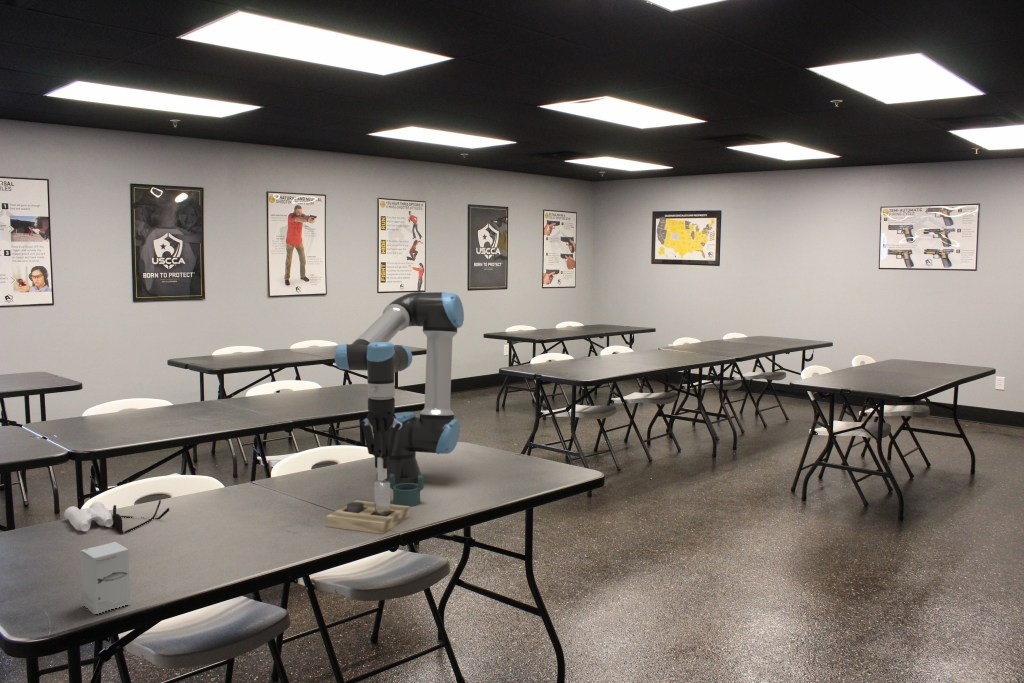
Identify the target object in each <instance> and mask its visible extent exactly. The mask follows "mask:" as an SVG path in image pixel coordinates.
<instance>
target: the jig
mask: <svg viewBox="0 0 1024 683" xmlns="http://www.w3.org/2000/svg"><path fill="white" fill-rule="evenodd" d="M410 517H411V507H410V506H402V505H394V504H393V503H390V515H389V516H387V517H384V516H376V515H375V501H366V500H357V499H355V500H353V501H352V502H349V503H346V505H344V506H342V507H341V508H339V509H337V510H335V511H333V512H331V513H329V514H328V515H326V527H328V528H334V529H335V528H336V529H344V530H350V531H357V532H365V533H366V532H367V533H373V534H379V535H380V534H381V535H384V534H385V533H387V532H388V531H390V530H391V529H393V528H395V527H396V526H397V525H399V524H400V523H402V522H404V521H405V520H407V519H408V518H410Z"/></svg>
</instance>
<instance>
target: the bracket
mask: <svg viewBox="0 0 1024 683" xmlns="http://www.w3.org/2000/svg"><path fill="white" fill-rule="evenodd" d="M424 480H425V475H422V474H421V475H418V483H415V484H414V483H402V484H397V485H395V474H390V475H389V481H390V490H393V491H392V494H393V495H392V496H393V497H392V498H393V500H392V502H393V503H392V504H394V505H402V506H410V508H411V507H414V506H415V507H416V506H418V505H419V504H420V503H421V491H422V490H424V488H425V482H424Z"/></svg>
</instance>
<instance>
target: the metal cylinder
mask: <svg viewBox="0 0 1024 683" xmlns="http://www.w3.org/2000/svg"><path fill="white" fill-rule="evenodd" d="M373 483H374V502H375V515H376V516H384V517H387V516H389V515H390V504H391V488H390V481H388V480H383V481H380V480H378V481H377V480H376V481H374V482H373Z"/></svg>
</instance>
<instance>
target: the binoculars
mask: <svg viewBox="0 0 1024 683" xmlns="http://www.w3.org/2000/svg"><path fill="white" fill-rule="evenodd" d="M63 516H64V518H65V519H66V520H67V519H69V520H68V521H69V523H70V524H71V526H73V528H74V529H75V530H76V531H79V532H87V531H89V530H90V528H91V524H92V521H94V522H95V523H96V524H97V525H98V526H99V527H104V526H105V527H107V528H110V527H113V526H112V525H113V513H111V511H110V510H109V508H108V509H107V507H106V506H105V505H104V503H102V502H99V501H96V502H93V503H92V504H91V505H90V506H89V508H86V507H85V508H81V509H79V508H78V507H77V506H74V505H72V506H69V507H67V508H66V509H65V511H64V513H63Z"/></svg>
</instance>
